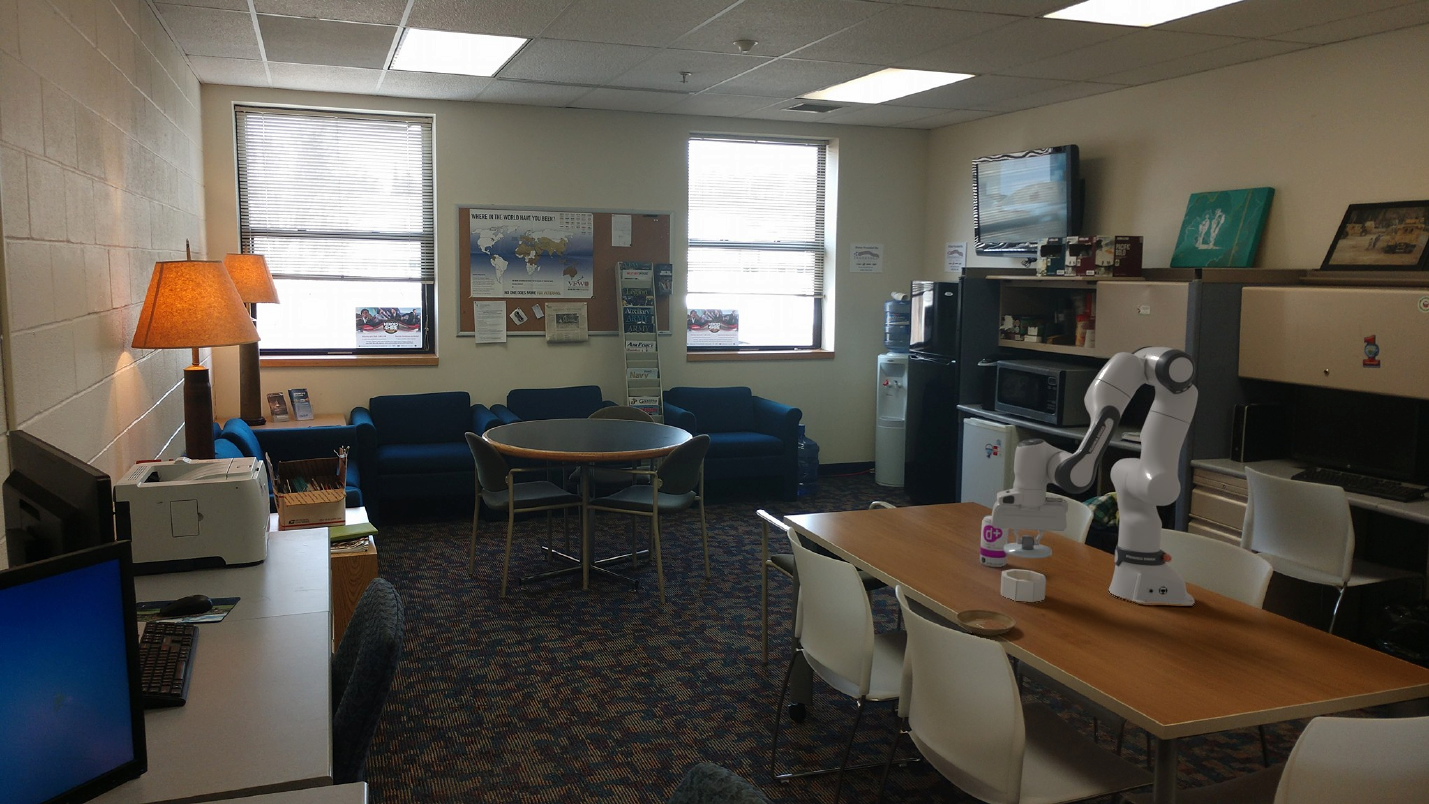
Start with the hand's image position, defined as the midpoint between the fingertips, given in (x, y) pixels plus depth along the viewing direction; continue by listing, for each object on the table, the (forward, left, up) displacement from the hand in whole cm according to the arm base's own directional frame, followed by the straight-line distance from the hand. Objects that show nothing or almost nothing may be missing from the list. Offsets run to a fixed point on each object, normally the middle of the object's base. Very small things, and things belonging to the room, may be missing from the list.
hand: (1027, 544), depth 272 cm
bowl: (+1, 0, -15) cm, 15 cm away
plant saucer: (+13, +30, -16) cm, 36 cm away
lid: (0, 0, -2) cm, 2 cm away
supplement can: (+7, -31, -15) cm, 35 cm away
